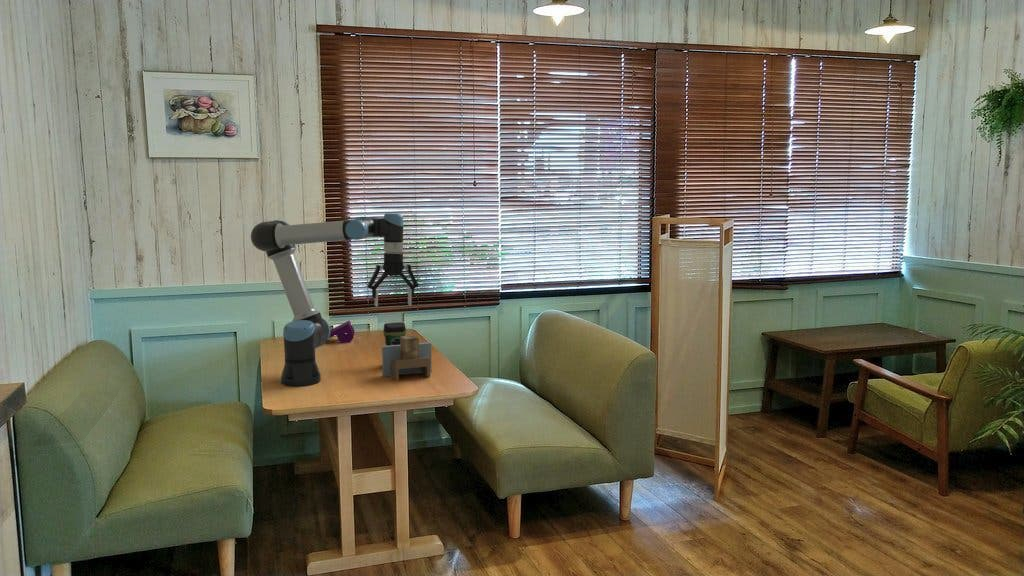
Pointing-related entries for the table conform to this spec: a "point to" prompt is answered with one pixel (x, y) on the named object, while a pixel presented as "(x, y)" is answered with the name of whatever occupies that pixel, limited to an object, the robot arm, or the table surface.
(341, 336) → the mounting bracket
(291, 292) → the robot arm
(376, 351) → the table surface
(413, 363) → the wall board
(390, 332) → the coffee jar
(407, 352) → the brown cylinder
